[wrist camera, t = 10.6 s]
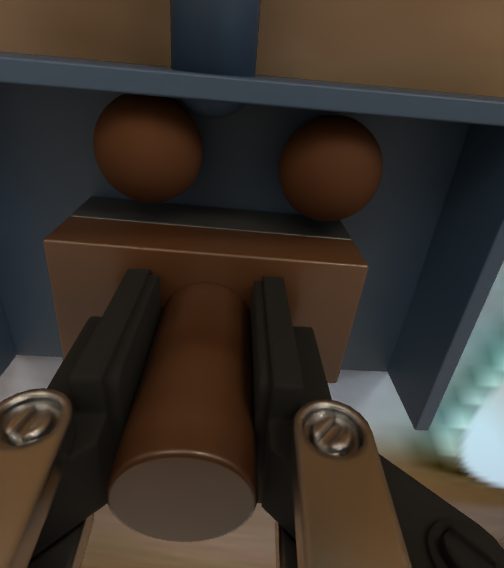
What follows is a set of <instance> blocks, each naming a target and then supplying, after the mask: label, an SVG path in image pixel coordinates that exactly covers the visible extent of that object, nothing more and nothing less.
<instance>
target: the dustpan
mask: <svg viewBox="0 0 504 568" xmlns="http://www.w3.org/2000/svg"><path fill="white" fill-rule="evenodd" d="M260 3H261V0H170V17H171V67H163V66H152V65H141V64H130V63H119V62H109V61H98V60H87V59H76V58H65V57H54V56H43V55H32V54H21V53H10V52H0V376H1V375H2V373H3V372H4V371H5V369H6V368H7V367H8V366H9V364H10V363H11V362H12V360H13V359H14V358H15V356H16V355H35V356H57V357H63V353H62V347H61V342H60V336H59V330H58V325H57V319H56V313H55V308H54V302H53V296H52V291H51V285H50V279H49V274H48V268H47V262H46V257H45V251H44V245H43V240H44V238H45V237H46V236H48V235H49V234H50V233H51V232H52V231H53V230H54V229H55V228H57V227H58V226H59V225H60V224H61V223H62V222H63V221H64V220H66V219H67V218H68V217H70V215H71V214H72V213H73V212H74V211H75V210H76V209H77V208H79V207H80V206H81V205H82V204H83V203H84V202H85V201H86V200H88V199H89V198H90V197H92V196H95V197H106V198H117V199H128V200H134V199H131V198H129V197H127V196H125V195H123V194H122V193H120V192H119V191H117V190H116V189H115V188H114V187H113V186H112V185H111V184H110V183H109V182H108V181H107V180H106V178H105V177H104V176H103V174H102V172H101V171H100V169H99V166H98V164H97V162H96V159H95V155H94V149H93V134H94V129H95V125H96V122H97V120H98V118H99V116H100V114H101V112H102V111H103V110H104V108H105V107H106V106H107V105H108V104H109V103H110V102H111V101H112V100H114V99H115V98H117V97H118V96H120V95H123V94H135V95H146V96H158V97H169V98H173V99H174V100H176V101H177V102H179V103H180V104H181V105H182V106H183V107H184V108H185V109H186V110H187V111H188V112H189V113H190V115H191V116H192V118H193V119H194V121H195V122H196V124H197V126H198V129H199V132H200V134H201V139H202V144H203V157H202V164H201V167H200V170H199V173H198V175H197V177H196V179H195V180H194V182H193V183H192V184H191V186H190V187H189V188H188V189H187V190H186V191H185V192H183V193H182V194H180V195H179V196H177V197H175V198H173V199H171V200H168V201H164V202H162V203H173V204H184V205H195V206H207V207H218V208H229V209H240V210H251V211H263V212H274V213H285V214H296V215H302V214H301V213H299V212H298V211H297V210H296V209H294V208H293V207H292V206H291V204H290V203H289V202H288V201H287V199H286V197H285V196H284V194H283V192H282V189H281V186H280V182H279V175H278V168H279V160H280V156H281V153H282V150H283V148H284V146H285V144H286V142H287V140H288V139H289V138H290V136H291V135H292V134H293V133H294V132H295V130H296V129H298V128H299V127H300V126H301V125H303V124H304V123H306V122H308V121H310V120H311V119H314V118H316V117H320V116H324V115H342V116H347V117H350V118H353V119H355V120H357V121H358V122H360V123H362V124H363V125H364V126H366V127H367V128H368V129H369V131H370V132H371V133H372V134H373V135H374V137H375V139H376V140H377V142H378V144H379V147H380V150H381V154H382V160H383V170H382V177H381V181H380V184H379V186H378V188H377V191H376V193H375V194H374V196H373V197H372V199H371V200H370V201H369V202H368V204H367V205H366V206H365V207H363V208H362V209H361V210H360V211H358V212H357V213H355V214H354V215H352V216H350V217H347V218H345V219H342V220H341V222H342V224H343V225H344V227H345V228H346V230H347V232H348V233H349V235H350V236H351V238H352V241H353V242H354V243H355V245H356V246H357V248H358V250H359V251H360V253H361V255H362V256H363V258H364V259H365V261H366V263H367V264H368V267H369V268H368V272H367V275H366V279H365V282H364V286H363V290H362V293H361V297H360V300H359V304H358V308H357V311H356V315H355V318H354V322H353V326H352V329H351V333H350V336H349V340H348V344H347V347H346V351H345V354H344V358H343V362H342V365H341V369H345V370H367V371H388V374H389V376H390V378H391V380H392V382H393V384H394V386H395V388H396V391H397V393H398V395H399V397H400V399H401V401H402V403H403V405H404V408H405V410H406V412H407V414H408V416H409V418H410V420H411V422H412V424H413V427H414V429H415V430H428V429H429V427H430V425H431V422H432V420H433V418H434V416H435V413H436V411H437V409H438V407H439V404H440V402H441V400H442V398H443V395H444V393H445V391H446V389H447V386H448V384H449V382H450V380H451V377H452V375H453V373H454V371H455V368H456V366H457V364H458V362H459V359H460V357H461V355H462V353H463V350H464V348H465V346H466V344H467V341H468V339H469V337H470V335H471V332H472V330H473V328H474V326H475V323H476V321H477V319H478V317H479V314H480V312H481V310H482V308H483V305H484V303H485V301H486V299H487V296H488V294H489V292H490V290H491V287H492V285H493V283H494V281H495V278H496V276H497V274H498V272H499V269H500V267H501V265H502V263H503V260H504V98H500V97H492V96H481V95H470V94H459V93H448V92H437V91H426V90H415V89H404V88H393V87H382V86H371V85H360V84H349V83H338V82H328V81H317V80H306V79H295V78H284V77H273V76H262V75H255V69H256V56H257V43H258V29H259V16H260Z"/></svg>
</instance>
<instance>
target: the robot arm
mask: <svg viewBox="0 0 504 568" xmlns="http://www.w3.org/2000/svg"><path fill="white" fill-rule="evenodd" d="M161 313H162V312H161V290H160V277H159V276H158V275H153V274H152V271H151V270H149V269H132V268H129V269H128V270H127V272H126V274H125V275H124V277H123V279H122V281H121V283H120V285H119V286H118V288H117V290H116V292H115V294H114V296H113V297H112V299H111V301H110V303H109V305H108V307H107V308H106V310H105V312H104V314H103V316H102V317H99V316H92V317H90V318H89V319H88V320H87V322H86V324H85V325H84V327H83V329H82V330H81V332H80V334H79V335H78V337H77V339H76V340H75V342H74V344H73V345H72V347H71V349H70V350H69V352H68V354H67V356H66V357H65V359H64V361H63V362H62V364H61V366H60V367H59V369H58V371H57V372H56V374H55V376H54V377H53V379H52V381H51V383H50V384H49V386H48V388H47V389H45V388H42V389H32V390H28V391H24V392H21V393H17V394H15V395H13V396H11V397H9V398H7V399H5V400H3V401H2V402H1V403H0V568H81V565H82V561H83V557H84V554H85V550H86V546H87V543H88V539H89V535H90V532H91V528H92V525H93V520H94V512H96V511H97V510H99V509H100V508H101V507H103V506H104V505H105V504H107V498H106V485H107V481H108V478H109V475H110V472H111V469H112V465H113V462H114V459H115V456H116V453H117V450H118V447H119V444H120V440H121V437H122V434H123V431H124V428H125V425H126V422H127V419H128V416H129V412H130V409H131V406H132V403H133V400H134V397H135V394H136V391H137V387H138V384H139V381H140V378H141V375H142V372H143V369H144V366H145V363H146V359H147V356H148V353H149V350H150V347H151V344H152V341H153V338H154V334H155V331H156V328H157V325H158V322H159V319H160V316H161ZM251 338H252V368H253V398H254V428H255V436H256V453H257V480H258V501H257V503H262V507H263V508H264V509H265V510H266V511H267V512H268V513H269V514H270V515H271V516H272V517H273V518H274V519H275V520H276V522H275V543H276V568H504V550H503V548H502V547H501V546H500V545H499V543H498V542H497V541H496V540H495V539H494V537H493V536H492V535H490V534H489V533H488V532H487V531H486V530H485V529H483V528H482V527H481V526H480V525H479V524H477V523H476V522H474V521H473V520H472V519H470V518H469V517H467V516H466V515H465V514H463V513H462V512H460V511H459V510H457V509H456V508H455V507H453V506H452V505H450V504H449V503H448V502H446V501H445V500H443V499H442V498H440V497H439V496H438V495H436V494H435V493H433V492H432V491H431V490H429V489H428V488H426V487H425V486H424V485H422V484H421V483H419V482H418V481H416V480H415V479H414V478H412V477H411V476H409V475H408V474H407V473H405V472H404V471H402V470H401V469H399V468H398V467H397V466H395V465H394V464H392V463H391V462H390V461H388V460H387V459H385V458H384V457H383V456H381V455H380V454H378V450H377V447H376V443H375V440H374V437H373V433H372V431H371V429H370V426H369V424H368V422H367V421H366V420H365V419H364V418H363V416H362V415H361V414H360V413H359V412H357V411H356V410H354V409H353V408H352V407H350V406H348V405H346V404H343V403H341V402H338V401H333V400H332V399H331V395H330V391H329V388H328V384H327V380H326V376H325V372H324V369H323V365H322V361H321V357H320V353H319V349H318V346H317V342H316V338H315V334H314V331H313V328H312V327H301V326H293V325H292V319H291V314H290V309H289V303H288V298H287V293H286V287H285V282H284V278H283V277H273V276H262V281H254V286H253V297H252V308H251Z"/></svg>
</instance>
